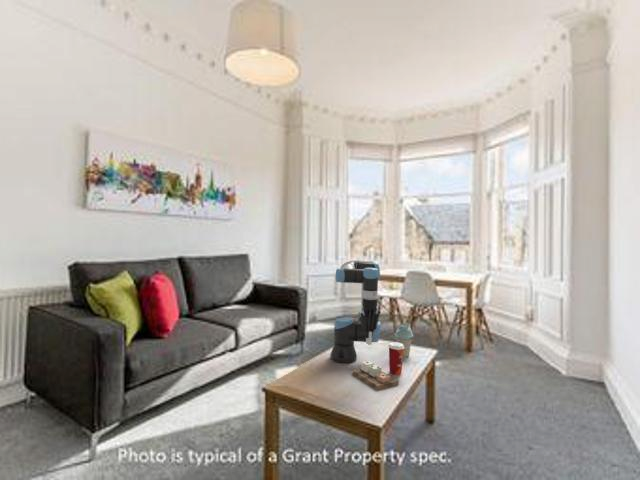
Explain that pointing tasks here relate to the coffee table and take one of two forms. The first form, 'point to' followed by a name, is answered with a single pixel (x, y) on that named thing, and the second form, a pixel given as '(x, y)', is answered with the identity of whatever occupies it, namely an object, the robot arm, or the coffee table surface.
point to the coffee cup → (395, 357)
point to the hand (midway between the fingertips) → (368, 343)
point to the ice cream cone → (404, 337)
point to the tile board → (374, 380)
